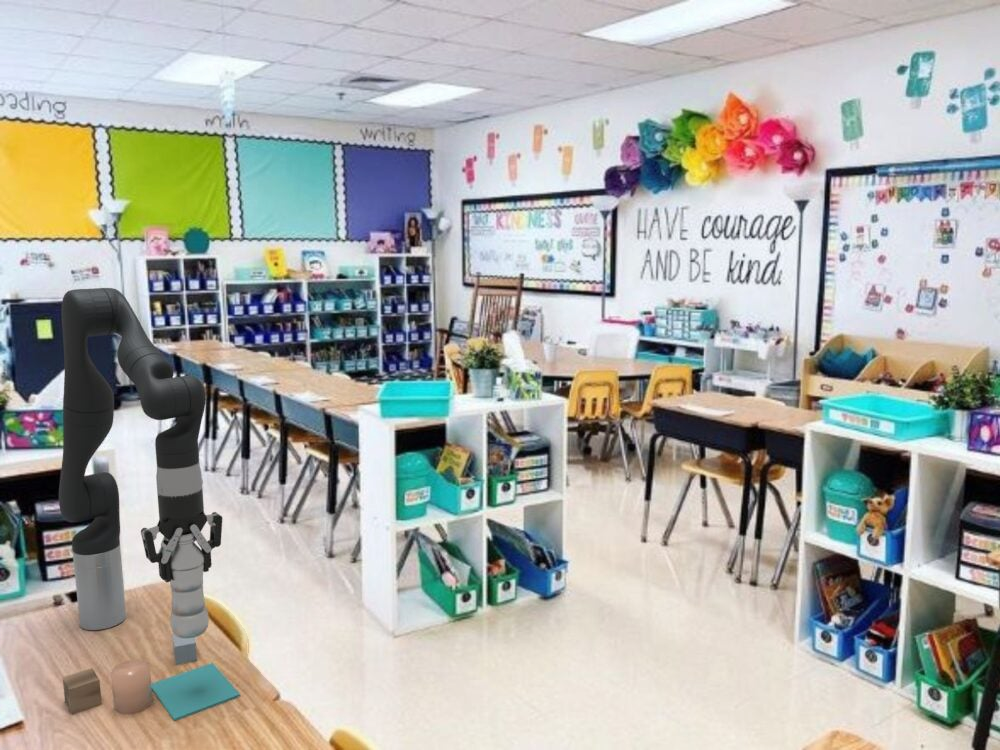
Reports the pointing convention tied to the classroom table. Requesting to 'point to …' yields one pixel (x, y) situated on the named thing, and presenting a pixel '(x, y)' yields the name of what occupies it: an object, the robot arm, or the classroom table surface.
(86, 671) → the walnut block
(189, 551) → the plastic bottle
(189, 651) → the slate grey box
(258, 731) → the classroom table surface
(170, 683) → the teal mat
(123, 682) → the beige domed cylinder
